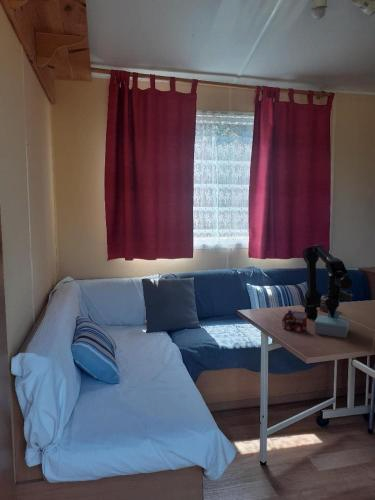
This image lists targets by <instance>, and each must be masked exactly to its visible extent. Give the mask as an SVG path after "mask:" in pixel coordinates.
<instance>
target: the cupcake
mask: <svg viewBox="0 0 375 500" xmlns="http://www.w3.org/2000/svg"><path fill="white" fill-rule="evenodd" d="M327 296H328V293H326V294H322V295H321V304H320V308H319V311H321V312H324V313H328V308H327V306H326V305H325V300H326V299H327Z"/></svg>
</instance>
